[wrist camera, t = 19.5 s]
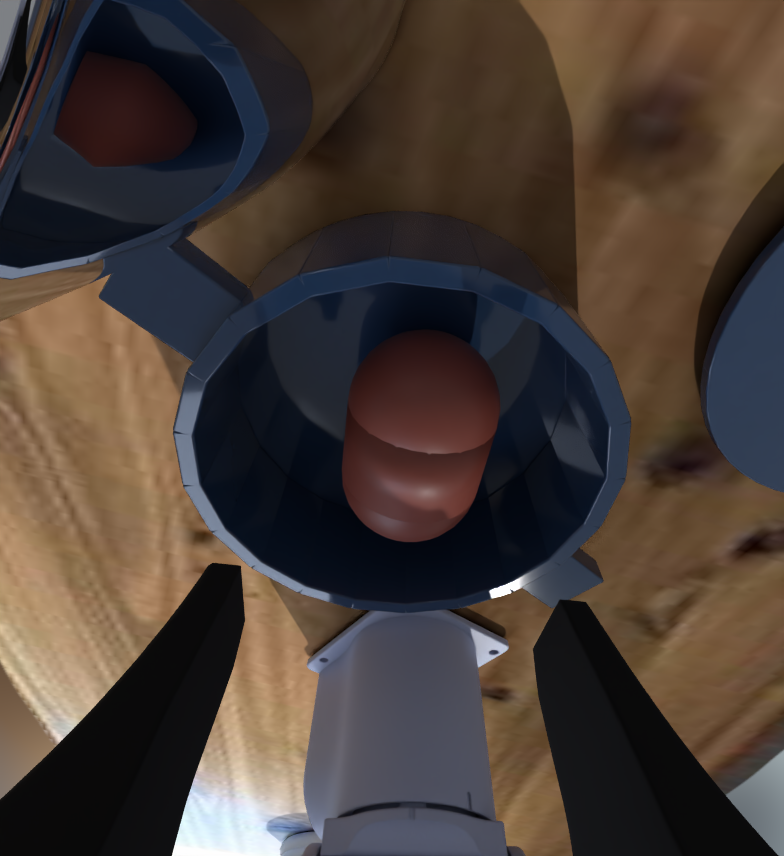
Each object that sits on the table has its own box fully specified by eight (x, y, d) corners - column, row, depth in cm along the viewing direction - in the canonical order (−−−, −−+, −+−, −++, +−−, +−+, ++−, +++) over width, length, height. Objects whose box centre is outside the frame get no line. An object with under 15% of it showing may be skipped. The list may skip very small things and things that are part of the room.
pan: (446, 580, 25) (453, 676, 21) (97, 358, 18) (8, 439, 14) (687, 429, 19) (762, 522, 15) (310, 16, 12) (261, -16, 8)
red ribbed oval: (441, 474, 21) (481, 565, 17) (330, 480, 20) (346, 578, 16) (483, 307, 17) (548, 380, 13) (343, 301, 15) (370, 380, 12)
